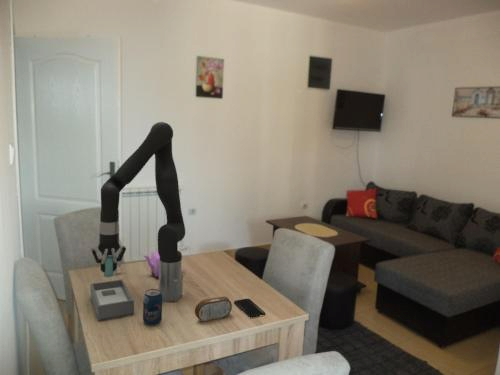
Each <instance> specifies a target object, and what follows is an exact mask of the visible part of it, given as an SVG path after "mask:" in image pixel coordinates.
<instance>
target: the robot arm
mask: <svg viewBox="0 0 500 375" xmlns="http://www.w3.org/2000/svg"><path fill="white" fill-rule="evenodd" d="M173 138H174V130H173V128H172V126H171V125H170V124H169V123H167V122H164V121H159V122H155V123H154V124H153V125H152V126H151V128H150V130H149V132H148V134H147V136H145V139H144V140H143V141H142V143H141V144H140V145H139V147H138V148H137V149H136V150H134V152H133V153H132V154H131V155H130V156H129V157H127V159H125V161H124V162H123V163H122V164H121V165H120V166H119V168H118V169H117V170H116V172H115V173H114V174H113V175H111V176H110V178H109V177H108V180H106V181H105V183H103V185H101V188H100V207H101V208H100V212H99V213H100V219H99V220H100V221H99V235H98V236H99V237H98V238H99V239H98V240H99V241H98V246H97V247H95V248H91V250H90V251H91V254H92V255H93V257H94V261H95V262H96V264H100V268H99V270H100V272H102V273H104V272H105V264H104V262H105V259H106V256H113V271H115V270H116V269H117V270H118V267H117V263H118V261H121V260H122V259H123V257H124V255H125V253H126V251H127V247H126V246H125V245H120V243H119V242H120V240H119V239H120V222H119V221H120V220H119V217H120V214H119V213H120V211H119V205H120V196H121V195H120V194H121V191H122V190H124V188H125V186H127V185H129V184H130V183H131V182H132V181H133V180H134V179H135V178H136V177H137V176H138V174H139V173H140V172H141V171H142V170H143V168H144V167H145V166H146V165H147V163H148V162H149V160H151V158H152V157H153V156H154V159H155V160H154V176H155V179H154V180H155V186H156V193H157V196H158V198H159V200H160V202H161V204H162V205H163V208H164V210H165V215H166V223H165V224H163V225H161V227H159V229H158V232H157V251H158V254H159V256H160V264H159V278H158V290H160V291H161V294H162V302H169V303H170V302H175V303H176V302H177V301H178V300H179V299H181V298H182V297H183V284H184V283H183V282H184V281H183V280H184V279H183V278H184V277H183V275H182V260H183V256H182V252H181V251H179V249H178V246H179V245H178V243H179V242H181V241H182V240H183V239H185V235H186V226H185V221H184V217H183V212H182V208H181V207H182V206H181V204H182V203H181V198H180V197H181V196H180V188H179V187H180V186H179V180H178V179H179V177H178V172H177V169H176V164H175V160H174V157H173ZM118 250H119V253H118V256H117V254H116V253H117V252H118ZM99 252H100V253H101V255H100V256H101V257H100V258H99V257H98V253H99Z"/></svg>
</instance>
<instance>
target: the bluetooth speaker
mask: <svg viewBox="0 0 500 375" xmlns="http://www.w3.org/2000/svg"><path fill="white" fill-rule="evenodd" d="M232 307H233V304H232V302H231V300H230V299H229V298H228V297H227V296H217V297H212V298H206V299H202V300H200V301H199V302H198V303H197V304H196V306H195V308H194V314H195V317H196V318H197V319H198V320H199V321H200V322H210V321H215V320H221V319H224V318H226V317H228V316H229V315H230V314H231V311H232Z"/></svg>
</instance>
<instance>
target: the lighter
mask: <svg viewBox="0 0 500 375" xmlns="http://www.w3.org/2000/svg"><path fill="white" fill-rule="evenodd" d="M123 261H124V259H123V258H122V260H121V261H118V262H117V269H116V270H115V271H113V276H112V277H114V276H117V275H118V268H120V267H121V266H122V264H123Z"/></svg>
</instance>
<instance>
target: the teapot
mask: <svg viewBox="0 0 500 375" xmlns="http://www.w3.org/2000/svg"><path fill="white" fill-rule="evenodd" d="M150 253H151V254H150V255H151V256H149V255H148V254H144V255H142V257H144V258H145V259H146V261H147V265H148V267H150V270H151V272H152V273H153V275H154V277H156V278H157V279H159V264H160V256H159V254H158V250H157V251H151V252H150Z"/></svg>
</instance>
